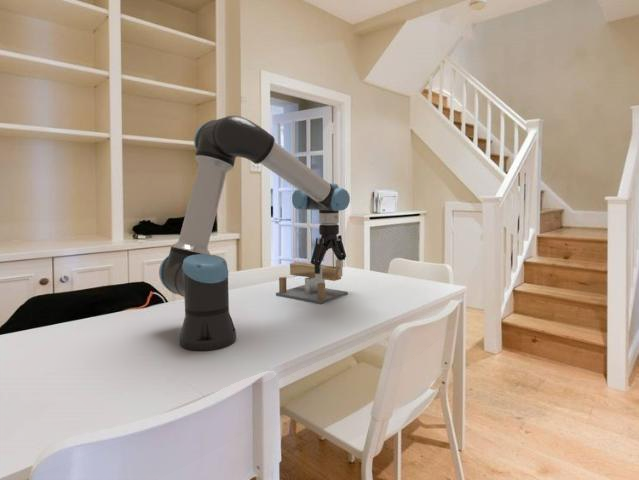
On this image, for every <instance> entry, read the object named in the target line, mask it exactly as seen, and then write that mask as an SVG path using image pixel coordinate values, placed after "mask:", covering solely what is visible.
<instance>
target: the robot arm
mask: <svg viewBox="0 0 639 480" xmlns="http://www.w3.org/2000/svg"><path fill="white" fill-rule="evenodd" d="M193 139H194V147H195V149H196V152H195V155H194V159H195V161H196V162H197V164H198V166H197V170H196V173H195V176H194V181H193V185H192V189H191V192H190V195H189V196H190V197H189V199H188V204H187V208H186V210H185V211H186V212H185V216H184V218H183V219H184V220H183V222H182V227H181V230H180V234H179V238H178V240H177V242H175V243H173V244H172V245H171V247H170V251H169V254H168V255H167V256H166V257H165V258H164V259H163V260H162V262H161V263H160V266H159V269H158V270H159V271H158V276H159V277H158V278H159V280H160V283H161V284H162V286H163V287H164V288H166V289H167V290H168V291H169V292H170V293H173V294H175V295H178V296H180V297H183V298H184V319H183V322H182V326H181V330H180V333H179V346H180V347H181V348H183V349H185V350H189V351H211V350H212V351H213V350H217V349H222V348H225V347H228V346H230V345H232V344H233V343H235V342H236V341H237V331H236V330H237V329H236V328H235V325H234V321H233V319H232V317H231V314H230V305H229V303H230V302H229V301H230V297H229V269H228V263H227V260H226V258H224V257H223V256H220V255H215V254H212V253H211V252H210V251H209V249H208V247H209V242H210V238H211V235H212V232H213V227H214V223H215V220H216V216H217V212H218V208H219V203H220V202H221V201H220V200H221V197H222V194H223V193H222V192H223V189H224V185H225V182H226V177H227V173H229V172H230V171H232V170H233V169H234V165H235V162H236V160H237V159H236V158H237V157H238V158H243V159H247V160H248V161H250V162H251V163H253V164H255V165H259V164H261V165H262V166H264V167H265V168H267V169H268V170H270V171H271V172H272V173H273V174H275V175H277V176H278V177H280V178H281V179H283V180H284V181H286V182H287V183H289V184H290V185H291V186H293V187H294V188H296V189H295V190H294V191H293V193H292V194H291V195H292V196H291V203H292V206H293V207H294V208H295V209H296V210H300V211H305V210H307V211H308V210H309V211H310V210H312V211H313V210H314V211H318V223H319V225H318V232H319V235H321V237H316V238H315V245H314V248H313V251H312V252H313V253H312V255H311V259H310V264H313V265H315V282H322V265H323V264H322V262H323V260H324V257H325V255H326V253H327V251H329V249H330V250H332V251H333V254H334V255H335V257H336V259H335V267H341V277H343V261H345V260H346V257H347V254H346V250H345V247H344V243H343V239H342V238H343V237H342V235H339V234H340V225H339V222H340V221H339V219H340V218H339V212H341V211H344V210H346V209H347V208H348V207H349V204H350V201H351V197H350V193H349V191H348V190H347V189H345V188H343V187H342V188H341V187H339V185H338V184H337V183H332V182H331V183H329V182H328V181H327V180H325V179H324V178H323V177H321V176H320V175H319V174H317V173H316V172H315V171H313V170H312V169H311V168H309V167H308V166H307V165H306V164H305V163H303V162H302V161H300V160H299V159H297V158H296V157H295V156H294V155H292V154H291V153H290V152H288V151H287V150H286V149H284V147H282V146H281V145H279V144H278V143H277V142H276V139H275V137H274V136H273V135H272V134H271V133H269V132H268V131H267V130H266V129H264V128H262V127H261V126H259V125H258V124H257V123H255V122H253V121H251V120H249V119H248V118H245V117H243V116H239V115H227V116H225V117H221V118H218V119H211V120H209V121H206V122H205V123H204V124H202V125H201V126H199V127H198V129H197V130H196V132H195V134H194V138H193Z"/></svg>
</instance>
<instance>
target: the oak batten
mask: <svg viewBox="0 0 639 480" xmlns="http://www.w3.org/2000/svg"><path fill="white" fill-rule="evenodd" d="M321 265H322V279H324V280H326V281H332V282H336V281H338V280H339V281H340V280H342V276H341V267H336V266H332V265H323V264H321ZM289 274H290V275H291V276H298V277H304V278H308V277H311V278H315V265H313V264H311V263H309V262H298V261H297V262H292V263H289Z"/></svg>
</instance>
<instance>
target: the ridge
mask: <svg viewBox="0 0 639 480" xmlns="http://www.w3.org/2000/svg"><path fill="white" fill-rule="evenodd" d="M318 283H325V280H324V279H322V282H315V278H311V277H304V285H305V294H312V293H315V292H318ZM325 284H326V283H325Z"/></svg>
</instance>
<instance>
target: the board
mask: <svg viewBox="0 0 639 480" xmlns="http://www.w3.org/2000/svg"><path fill="white" fill-rule="evenodd" d="M278 284H279V285H278V286H279V287H278V289H279V290H278V292H276V293H275V296H277V297H280V298H281V297H282V298H286V299H293V300H298V301H303V302H307V303H313V304H319V305H322V304H325V303H328V302H330V301H333V300H336V299H339V298H341V297H344V296H347V295H348V294H349V291H345V290H339V289H333V288H327V287H326V283H318V292H315V293H312V294H305V284H303V285H299V286H296V287H292V288H289V289H287V277H286V276H280V277H278Z"/></svg>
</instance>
